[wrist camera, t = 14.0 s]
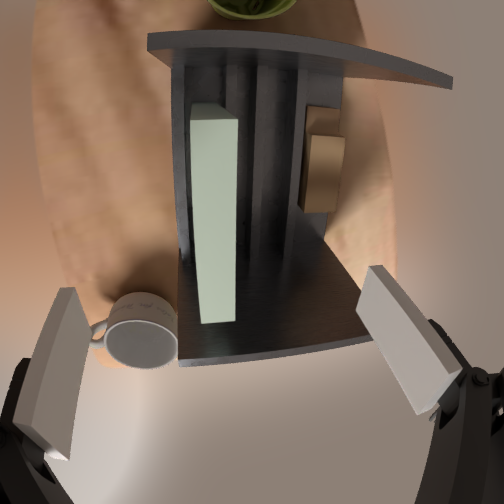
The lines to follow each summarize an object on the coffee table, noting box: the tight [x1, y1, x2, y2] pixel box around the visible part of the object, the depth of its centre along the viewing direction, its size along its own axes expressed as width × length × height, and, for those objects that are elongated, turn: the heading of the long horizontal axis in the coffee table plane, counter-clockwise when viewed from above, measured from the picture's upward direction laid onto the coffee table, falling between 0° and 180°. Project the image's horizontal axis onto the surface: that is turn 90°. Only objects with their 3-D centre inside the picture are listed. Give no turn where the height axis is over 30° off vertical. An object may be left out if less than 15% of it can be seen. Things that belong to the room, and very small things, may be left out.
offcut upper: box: [299, 132, 346, 213], centre depth 34 cm, size 9×4×2 cm, turn 178°
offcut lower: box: [297, 105, 340, 206], centre depth 35 cm, size 12×4×2 cm, turn 178°
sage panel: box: [190, 102, 238, 324], centre depth 26 cm, size 14×2×18 cm, turn 178°
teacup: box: [89, 292, 178, 369], centre depth 41 cm, size 14×11×8 cm
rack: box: [147, 30, 453, 367], centre depth 28 cm, size 24×20×20 cm
